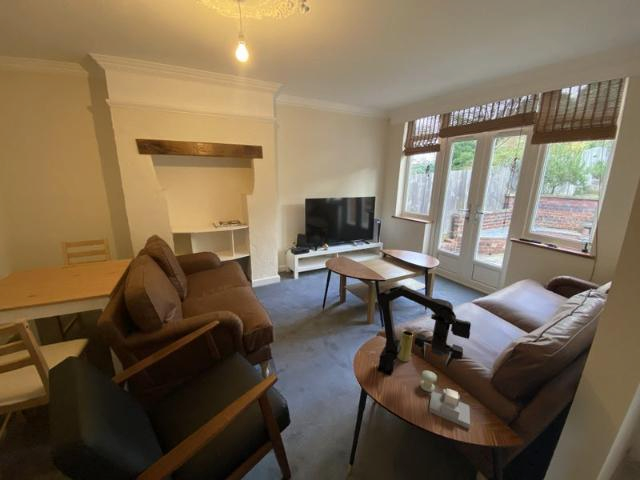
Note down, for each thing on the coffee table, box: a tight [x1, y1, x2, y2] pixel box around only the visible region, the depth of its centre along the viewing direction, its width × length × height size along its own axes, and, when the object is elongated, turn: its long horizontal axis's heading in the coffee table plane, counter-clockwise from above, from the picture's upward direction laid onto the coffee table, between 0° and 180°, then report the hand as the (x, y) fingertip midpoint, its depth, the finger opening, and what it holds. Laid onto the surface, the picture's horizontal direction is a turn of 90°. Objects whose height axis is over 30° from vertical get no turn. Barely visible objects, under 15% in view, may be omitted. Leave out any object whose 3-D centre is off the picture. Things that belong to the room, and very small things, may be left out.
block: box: [444, 388, 459, 407], centre depth 104 cm, size 4×4×6 cm
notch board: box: [428, 388, 471, 430], centre depth 104 cm, size 14×10×5 cm
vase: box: [397, 330, 414, 363], centre depth 134 cm, size 6×6×14 cm
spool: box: [419, 370, 438, 393], centre depth 116 cm, size 6×6×6 cm
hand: (434, 362), depth 114 cm, fingers open, 9 cm apart
